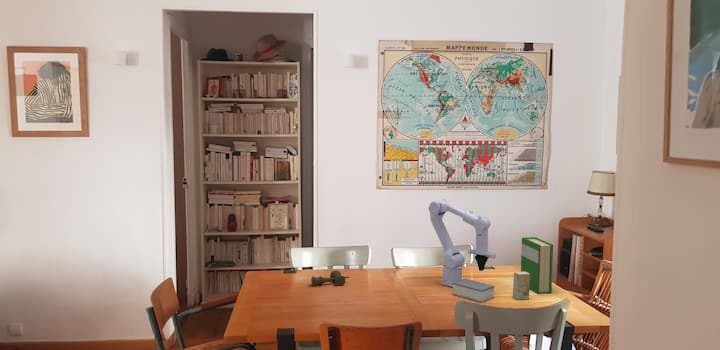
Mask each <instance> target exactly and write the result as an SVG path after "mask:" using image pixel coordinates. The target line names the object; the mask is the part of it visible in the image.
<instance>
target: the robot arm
mask: <svg viewBox="0 0 720 350" xmlns="http://www.w3.org/2000/svg"><path fill="white" fill-rule="evenodd" d="M428 211H429V217H430V222H431V224H432V226H433V229H434V230H435V233H436V235H437V238H438V240H439V241H440V244H441V246H442V248H443V251H444V254H443V259H444V264H445V266H444V267H443V269H442V273H441V274H442V276H441V277H442V280H441V281H442V282H441V283H440V284H441V285H442V286H443V285H444V286H447V287H451V288H453V284H452V282H456V281H459V280H462V279H463V265H465V262H466V261H465V256H464V255H463V254H462V253H461V251H460V249H458V248H456V246H455V245H454V242H453V241H452V238H451V236H450V234H449V232H448V229H447V228H446V225H445V223H444V221H443V218H444V215H445V214H446V213H447V212H449V213H451V214H454V215H455V216H458V217H460V218H462V221H463V222H464V223H466V224H469V225H470V226H472V227H473V228H474V230H475V249H473V248H469V249H468V250H467V254H468V255H469V254H471V255H475V256H474V259H475V261H476V264H477V267H478V271H479V272H480V271H481V272H483V271H484V270H485V266H486V263H487V261H488V259H496V258H497V257H496V254H497V253H493V252H490V251H489V228H491V221H490V220H489V218H487V217H482V216H481V215H479V214H476V213H474V211H473V210H466V211H465V210H464V209H462V208H459V207H458V206H456V205H455V204H453V203H451V201H450V200H447V199H440V200H434V201H433V200H432V201H430V204H429V206H428Z"/></svg>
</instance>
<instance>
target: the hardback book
mask: <svg viewBox="0 0 720 350" xmlns="http://www.w3.org/2000/svg"><path fill="white" fill-rule="evenodd" d="M553 255H554V244H553V243H550V242H548V241H546V240H543V239H541V238H539V237H536V236H531V237H530V236H529V237H521V254H520V258H521V259H520V272H527V273H529V274H530V285H529V291H530V292H533V293H534V294H536V295H540V293H548V294H553V293H552V289H553V287H552V285H553V265H554V263H553V261H554V259H553V258H554V256H553Z"/></svg>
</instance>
